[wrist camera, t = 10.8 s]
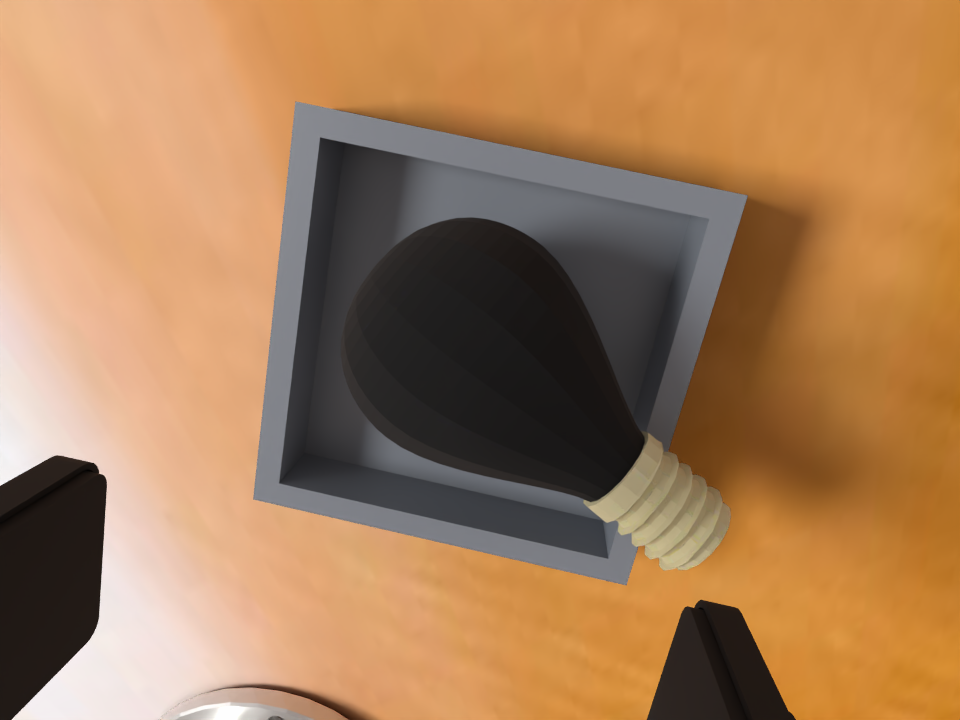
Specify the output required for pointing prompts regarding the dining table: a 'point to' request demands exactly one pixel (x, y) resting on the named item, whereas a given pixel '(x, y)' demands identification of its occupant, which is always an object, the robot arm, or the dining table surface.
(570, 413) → the light bulb
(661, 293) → the parts tray
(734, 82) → the dining table surface
